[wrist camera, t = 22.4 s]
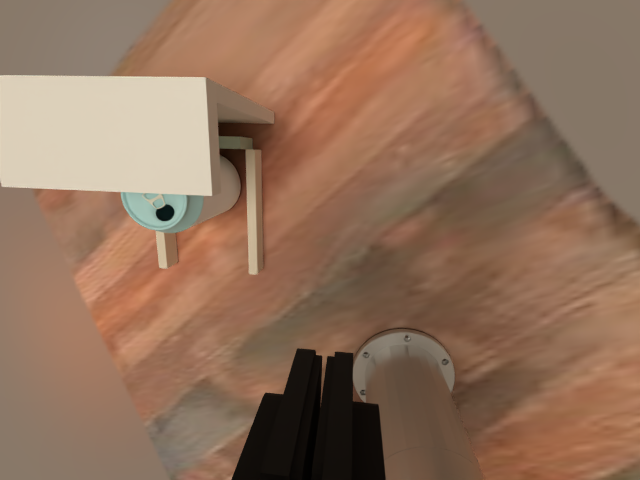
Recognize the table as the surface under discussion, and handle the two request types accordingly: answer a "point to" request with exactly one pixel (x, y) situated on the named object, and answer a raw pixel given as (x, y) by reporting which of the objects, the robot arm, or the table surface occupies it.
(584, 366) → the table surface
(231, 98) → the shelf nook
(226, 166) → the can
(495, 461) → the table surface
